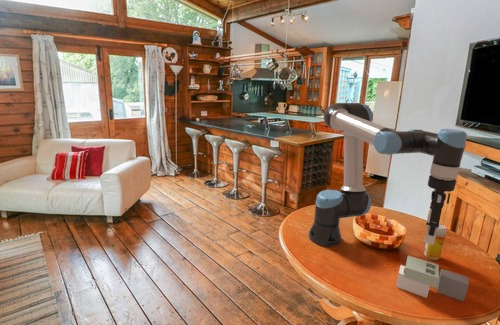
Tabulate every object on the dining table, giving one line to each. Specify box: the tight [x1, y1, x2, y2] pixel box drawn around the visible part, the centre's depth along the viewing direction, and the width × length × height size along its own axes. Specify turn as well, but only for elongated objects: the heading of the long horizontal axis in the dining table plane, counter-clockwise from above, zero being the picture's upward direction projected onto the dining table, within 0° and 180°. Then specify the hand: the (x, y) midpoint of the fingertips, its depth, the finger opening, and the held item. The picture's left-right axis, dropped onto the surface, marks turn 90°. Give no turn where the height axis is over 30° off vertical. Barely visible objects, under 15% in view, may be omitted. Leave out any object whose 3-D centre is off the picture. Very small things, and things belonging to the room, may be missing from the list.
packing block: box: [436, 268, 469, 302], centre depth 104 cm, size 8×5×7 cm, turn 57°
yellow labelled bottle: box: [423, 223, 447, 261], centre depth 125 cm, size 6×6×15 cm
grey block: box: [404, 255, 440, 289], centre depth 103 cm, size 10×9×4 cm
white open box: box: [395, 264, 432, 299], centre depth 105 cm, size 10×6×10 cm, turn 57°
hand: (429, 234), depth 100 cm, fingers open, 13 cm apart
